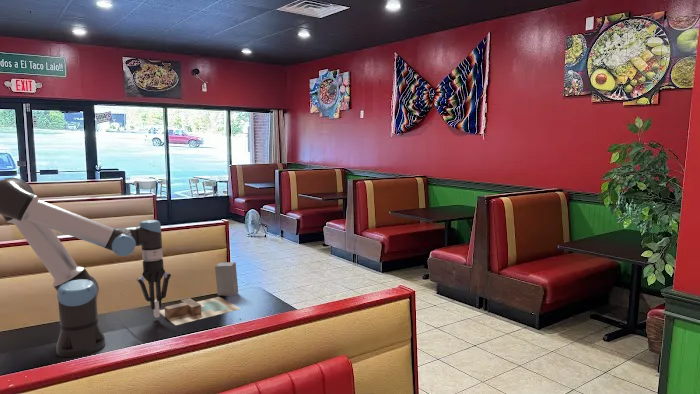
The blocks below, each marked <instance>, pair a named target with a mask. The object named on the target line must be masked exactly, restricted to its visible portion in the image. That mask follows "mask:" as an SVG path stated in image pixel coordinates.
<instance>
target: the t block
mask: <svg viewBox="0 0 700 394" xmlns="http://www.w3.org/2000/svg"><path fill="white" fill-rule="evenodd" d="M197 302H198V301H195V300H193V299H192V298H190V297H189V298H185V299H181V300H180V302H179V303H176V304H175V303H174V304H171V305H166V306H164V309H165V317H164V318H166V317H167V318H168V319H170V318H174V317H178V316H183V315H187V314H189V315H190V316H192V317H193V316H197V315H201V305H200V304H199V303H197ZM167 318H166V319H167ZM168 319H167V320H168Z"/></svg>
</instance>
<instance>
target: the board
mask: <svg viewBox="0 0 700 394" xmlns="http://www.w3.org/2000/svg"><path fill="white" fill-rule="evenodd" d="M196 302H197V303H199V304H200V305H201V315H197V316H193V317H192V316H190V315H189V314H187V315H183V316H178V317H174V318H170V319H168V318H167V317H165V308H164V309H159V313H160V315H162V317H164V318H166V320H168V321H169V322H170V323H172V324H173V325H174V326H180V325H183V324H187V323H190V322H191V323H192V322H195V321H198V320H199V321H200V320H202V319H207V318H210V317H211V318H212V317H216V316H218V315H223V314H226V313H230V312H235V311H238V310H239V311H240V310H241V309H242V308H241V307H238V306H237V305H235V304H233V303H232V302H229V301H228V300H226V299H224V298H222V297H220V296H216V297H212V298H207V299H203V300H198V301H196Z"/></svg>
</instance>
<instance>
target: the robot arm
mask: <svg viewBox="0 0 700 394" xmlns="http://www.w3.org/2000/svg"><path fill="white" fill-rule="evenodd" d="M0 216H2V218H3V219H4V220H5V222H6V223H9V224H13V225H15V226H16V228H17V230H18V231H19V233H20V234H21V235H22V236H23V238H24V239H25V240H26V242H27V243H28V245H29V246H30V247H31V249H32V250H33V252H34V253H35V255H36V256H37V257H38V258H39V260H40V261H41V263H42V265H44V267H45V268H46V269H47V271H48V272H49V273H50V276H51V277H52V278H53V280H54V281H53V284H52V287H53V288H54V289H55V290H56V292H57V295H56V298H57V302H58V315H59V325H60V326H59V327H60V330H59V331H60V332H59V335H58V339H57V342H56V346H55V350H56V355H57V356H58V357H63V358H73V357H80V356H87V355H90V354H93V353H95V352H97V351H99V350H101V349H102V348H104V346H106V336H105V334H104V333H103V331H102V328H101V326H100V325H99V317H98V316H99V313H98V297H99V296H98V295H99V290H100V287H99V283H98V281H97V280H96V278H94V276H92V275H91V274H89V272H88V270H86V268H85V267H84V266H80V265H77V263H76V262H75V260H74V258H73V257H72V256H71V254H70V253H69V251H68V250H67V249H66V247H65V245H64V244H63V243H62V242H61V240H60V238H59V237H58V235H57V234H56V233H55V232H54V231H56V232H59V233H62V234H65V235H68V236H70V237H74V238H76V239H79V240H82V241H84V242H87V243H90V244H93V245H95V246H98V247H101V248H104V249H107V250H109V251H112V252H113V253H115V254H116V255H117V256H120V257H126V256H130V255H131V254H132V253H133V252H134V250H135V249H136V247H140V246H141V255H142V258H141V259H142V260H143V261H142V269H143V271H142V274H141V276H139V277H138V278H136V282H137V283H138V284H139V285H140V289H141V291H142V294H143V297H144V300H145V301H147V302H149V303H150V309H151V310H153V317H155V318H160V316H161V313H159V310H160V308H162V301H163V299H165V298H166V297H167V292H168V287H169V282H170V279H171V276H172V274H171V273H169V272H166V270H165V268H164V267H165V266H164V258H163V257H164V255H163V254H164V253H163V238H162V237H163V236H162V227H161V222H160V221H159V220H157V219H147V220H142V221H140V222H139V226H135V227H132V226H131V227H122V228H118V227H115V228H114V227H112V226H109V225H106V224H103V223H101V222H98V221H95V220H92V219H90V218H87V217H85V216H83V215H81V214H78V213H75V212H73V211H69V210H66V209H64V208H62V207H60V206H57V205H54V204H51V203H49V202H46V201H44V200H41V199H40V198H39V196H38V195H36V194H35V193H34V190H33V187H32V185H30V183H28V182H26V181H25V180H23V179H20V178H16V177H8V178H7V177H5V178H3V179H1V180H0ZM162 278H163V282H162V285H161V280H162ZM145 281H146V282H148V283H147V284H148V290H147V287H146V284H145ZM155 297H156V298H155Z"/></svg>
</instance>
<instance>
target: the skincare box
mask: <svg viewBox="0 0 700 394" xmlns="http://www.w3.org/2000/svg"><path fill="white" fill-rule="evenodd" d="M236 264H237V263H236V261H231V262H227V261H226V262H219V263H217V264H216V265H215V266H214V271H215V282H216V292H217V293H216V294H217V296H232V297H233V296H235V295H238V294H239V285H238V274H237V265H236Z"/></svg>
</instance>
